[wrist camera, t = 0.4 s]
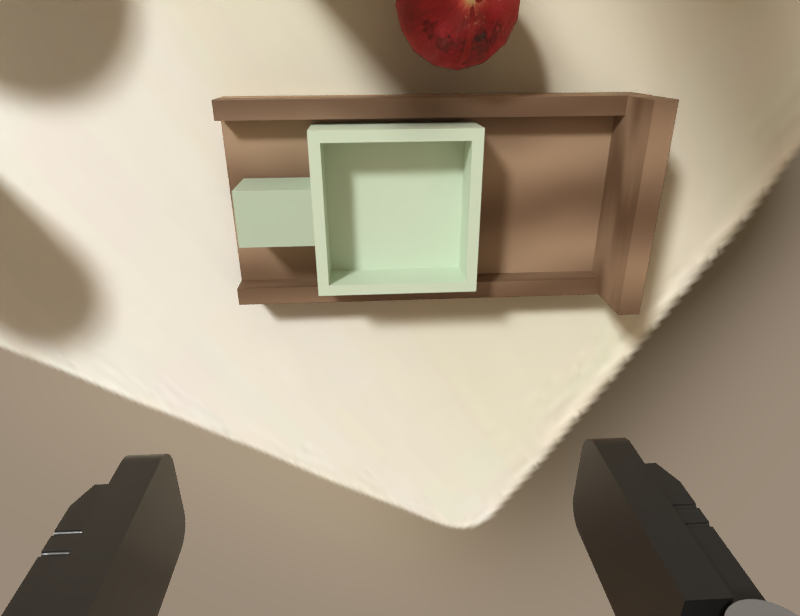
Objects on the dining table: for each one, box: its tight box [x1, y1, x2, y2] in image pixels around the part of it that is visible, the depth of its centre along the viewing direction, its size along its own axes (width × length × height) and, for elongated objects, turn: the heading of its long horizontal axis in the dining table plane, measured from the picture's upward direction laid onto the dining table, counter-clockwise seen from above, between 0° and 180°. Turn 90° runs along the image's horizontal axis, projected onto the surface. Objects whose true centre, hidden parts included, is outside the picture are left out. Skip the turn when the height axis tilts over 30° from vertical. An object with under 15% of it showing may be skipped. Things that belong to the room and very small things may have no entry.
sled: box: [232, 121, 485, 296], centre depth 31 cm, size 9×13×3 cm
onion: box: [396, 0, 520, 70], centre depth 26 cm, size 6×6×8 cm
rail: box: [212, 92, 679, 315], centre depth 32 cm, size 11×23×6 cm, turn 90°
